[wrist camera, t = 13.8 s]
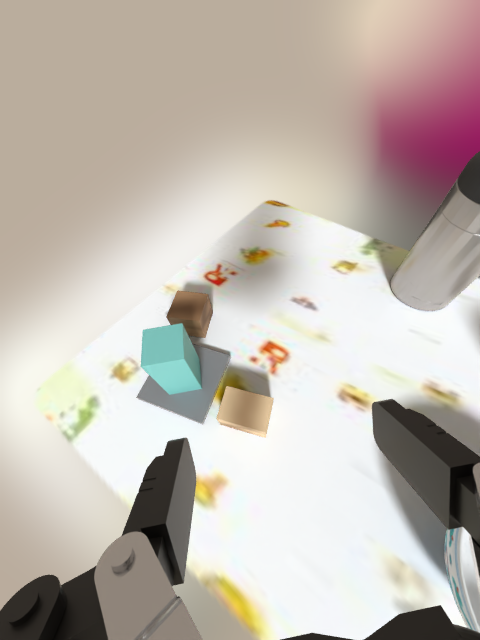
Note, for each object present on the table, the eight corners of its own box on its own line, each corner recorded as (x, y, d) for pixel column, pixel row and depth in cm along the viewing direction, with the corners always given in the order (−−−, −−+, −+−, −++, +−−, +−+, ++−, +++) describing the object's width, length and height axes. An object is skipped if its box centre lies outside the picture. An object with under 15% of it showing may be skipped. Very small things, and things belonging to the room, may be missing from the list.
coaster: (172, 339, 40) (171, 337, 39) (230, 357, 37) (230, 355, 37) (138, 399, 35) (136, 397, 34) (203, 424, 32) (201, 423, 32)
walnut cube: (185, 309, 43) (177, 290, 39) (212, 312, 42) (207, 294, 38) (175, 333, 40) (166, 316, 36) (205, 338, 40) (199, 321, 35)
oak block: (220, 424, 32) (216, 418, 29) (229, 395, 35) (226, 385, 31) (265, 437, 31) (266, 432, 28) (272, 406, 33) (273, 398, 30)
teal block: (169, 364, 37) (142, 330, 28) (199, 359, 37) (182, 323, 28) (169, 394, 34) (140, 366, 26) (201, 388, 34) (184, 358, 26)
